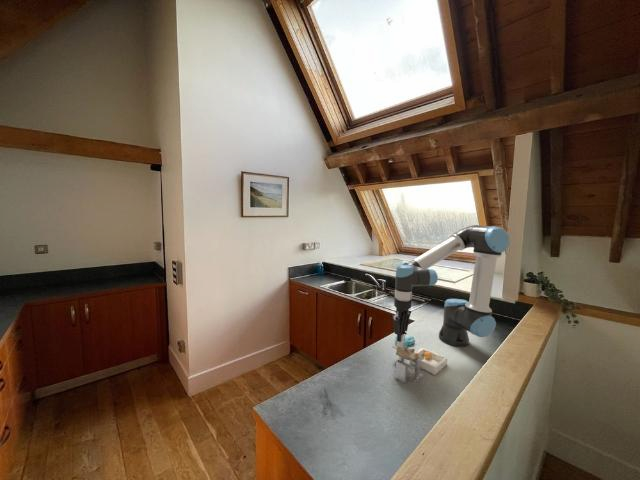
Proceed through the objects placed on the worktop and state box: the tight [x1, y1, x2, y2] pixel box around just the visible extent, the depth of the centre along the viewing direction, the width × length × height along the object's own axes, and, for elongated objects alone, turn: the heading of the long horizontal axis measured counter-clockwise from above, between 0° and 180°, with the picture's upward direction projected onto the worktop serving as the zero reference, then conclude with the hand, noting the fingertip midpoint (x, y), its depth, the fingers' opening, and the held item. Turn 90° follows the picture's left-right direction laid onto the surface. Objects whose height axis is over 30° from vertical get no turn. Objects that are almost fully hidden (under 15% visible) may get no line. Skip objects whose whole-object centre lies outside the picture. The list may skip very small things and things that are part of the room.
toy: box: [394, 334, 416, 349], centre depth 142 cm, size 10×5×15 cm
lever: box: [391, 345, 425, 361], centre depth 118 cm, size 15×14×3 cm
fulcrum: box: [394, 356, 424, 384], centre depth 114 cm, size 11×10×8 cm
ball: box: [424, 352, 431, 359], centre depth 126 cm, size 3×3×3 cm
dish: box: [409, 347, 448, 376], centre depth 123 cm, size 12×12×4 cm
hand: (399, 347), depth 124 cm, fingers closed
